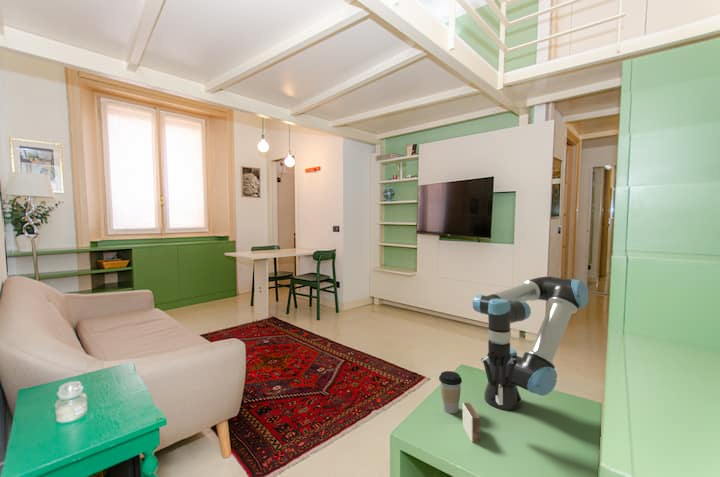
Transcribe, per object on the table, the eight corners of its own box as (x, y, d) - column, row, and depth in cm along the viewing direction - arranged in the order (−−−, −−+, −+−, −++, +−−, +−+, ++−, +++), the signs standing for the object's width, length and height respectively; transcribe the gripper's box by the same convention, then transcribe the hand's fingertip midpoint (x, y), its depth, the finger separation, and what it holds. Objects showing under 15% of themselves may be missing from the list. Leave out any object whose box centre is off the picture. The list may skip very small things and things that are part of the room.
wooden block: (470, 425, 125) (470, 402, 125) (480, 442, 116) (479, 417, 115) (462, 425, 125) (462, 403, 125) (471, 442, 115) (471, 417, 115)
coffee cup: (459, 418, 130) (459, 382, 130) (436, 412, 135) (436, 377, 134) (464, 407, 138) (463, 372, 138) (442, 401, 143) (442, 368, 142)
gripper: (511, 337, 123) (511, 397, 124) (478, 337, 123) (478, 398, 124) (521, 344, 116) (521, 408, 116) (485, 344, 116) (485, 408, 116)
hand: (499, 403), depth 120 cm, fingers closed
